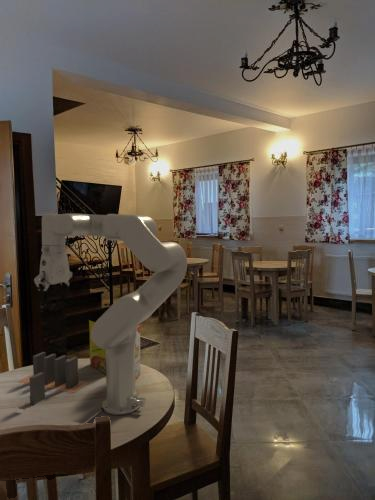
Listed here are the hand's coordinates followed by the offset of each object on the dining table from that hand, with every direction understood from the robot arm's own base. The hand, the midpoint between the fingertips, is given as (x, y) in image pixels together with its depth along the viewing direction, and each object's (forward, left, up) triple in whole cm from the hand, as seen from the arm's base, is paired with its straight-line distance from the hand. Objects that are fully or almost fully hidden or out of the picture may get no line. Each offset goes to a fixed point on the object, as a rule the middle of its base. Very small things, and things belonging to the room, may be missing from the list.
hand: (54, 299), depth 132 cm
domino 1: (+14, -7, -33) cm, 37 cm away
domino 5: (-1, -7, -33) cm, 34 cm away
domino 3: (+9, -7, -33) cm, 35 cm away
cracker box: (-18, -18, -35) cm, 43 cm away
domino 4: (+4, -7, -33) cm, 34 cm away
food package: (-1, -24, -35) cm, 42 cm away
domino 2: (+2, +7, -34) cm, 35 cm away
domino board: (+8, -7, -34) cm, 36 cm away
